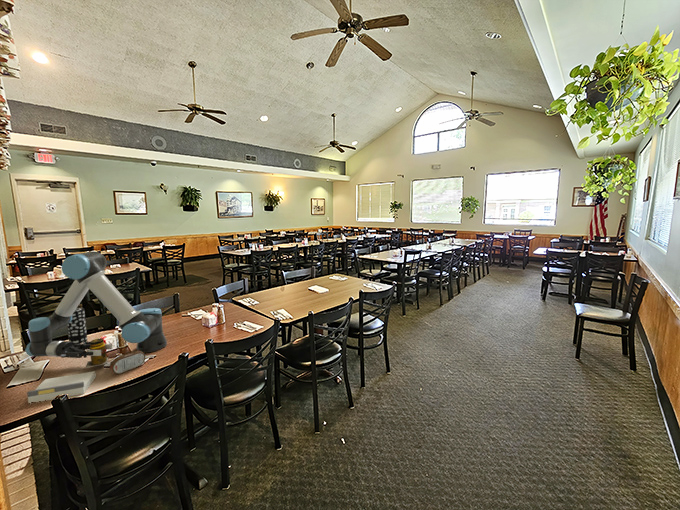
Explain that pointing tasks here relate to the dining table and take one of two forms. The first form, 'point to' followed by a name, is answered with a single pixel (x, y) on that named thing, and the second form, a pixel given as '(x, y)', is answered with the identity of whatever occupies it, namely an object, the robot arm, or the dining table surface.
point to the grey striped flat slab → (61, 387)
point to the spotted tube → (77, 327)
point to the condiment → (97, 360)
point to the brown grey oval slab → (127, 362)
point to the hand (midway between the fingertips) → (106, 349)
